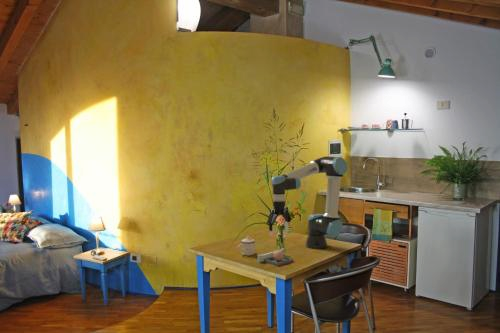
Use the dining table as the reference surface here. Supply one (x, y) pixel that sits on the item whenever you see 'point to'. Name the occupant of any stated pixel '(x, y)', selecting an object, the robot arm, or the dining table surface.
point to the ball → (278, 256)
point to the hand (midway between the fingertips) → (279, 233)
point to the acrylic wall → (268, 255)
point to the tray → (278, 263)
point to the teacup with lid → (247, 246)
